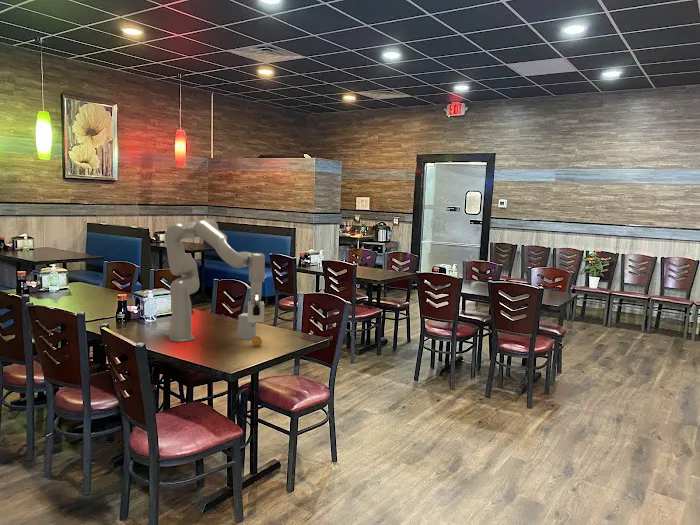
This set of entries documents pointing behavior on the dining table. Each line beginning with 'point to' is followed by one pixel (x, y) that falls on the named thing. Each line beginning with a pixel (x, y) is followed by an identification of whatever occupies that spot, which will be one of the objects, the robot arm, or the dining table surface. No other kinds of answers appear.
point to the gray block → (255, 317)
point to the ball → (256, 341)
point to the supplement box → (246, 327)
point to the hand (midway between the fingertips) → (256, 313)
